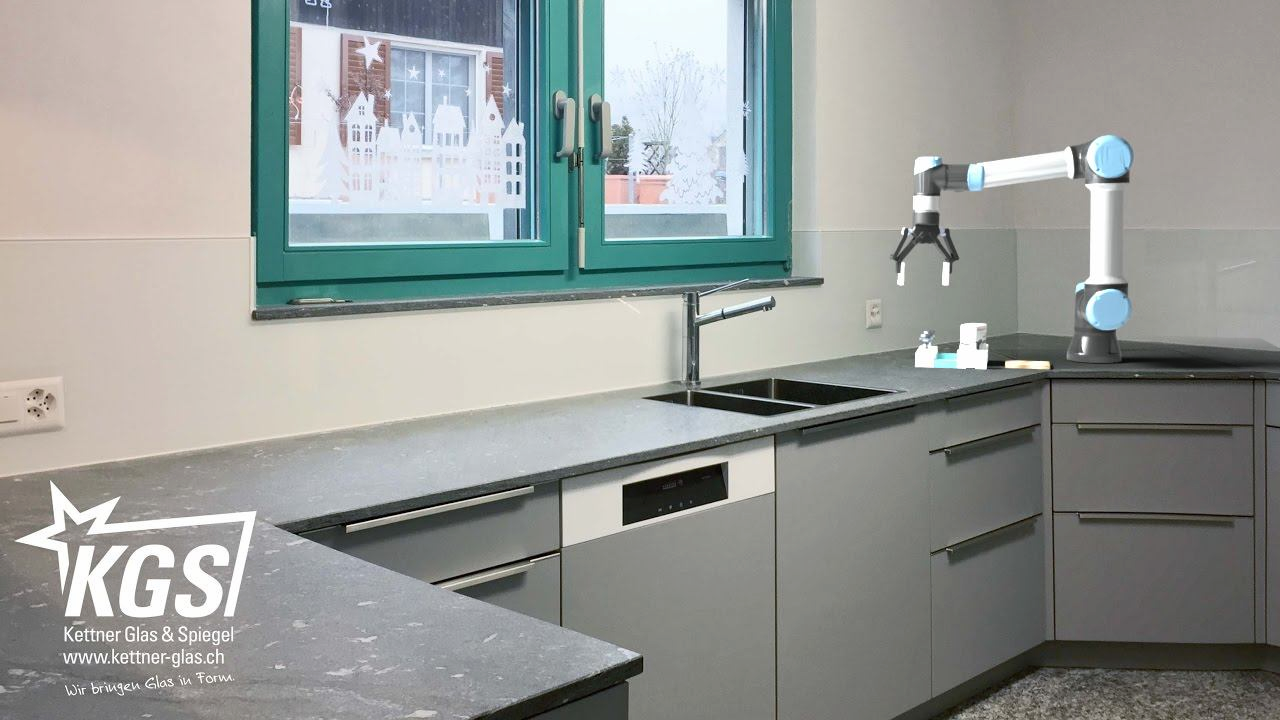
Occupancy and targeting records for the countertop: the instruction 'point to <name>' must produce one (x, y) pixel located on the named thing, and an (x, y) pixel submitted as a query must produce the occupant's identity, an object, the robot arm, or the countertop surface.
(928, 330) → the plunger
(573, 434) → the countertop surface
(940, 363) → the housing
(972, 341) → the ink box
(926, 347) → the plunger
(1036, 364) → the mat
